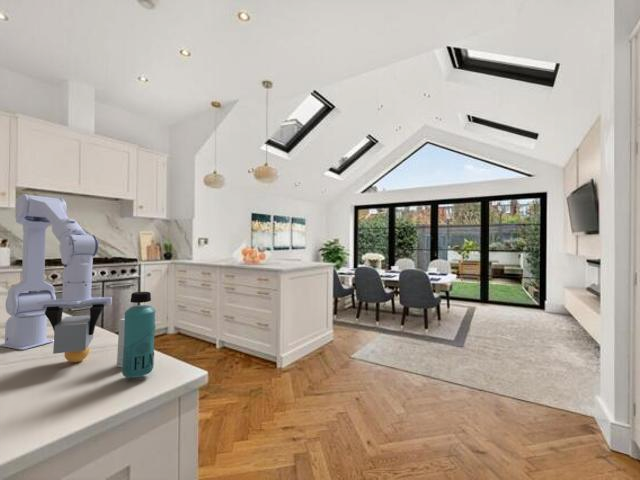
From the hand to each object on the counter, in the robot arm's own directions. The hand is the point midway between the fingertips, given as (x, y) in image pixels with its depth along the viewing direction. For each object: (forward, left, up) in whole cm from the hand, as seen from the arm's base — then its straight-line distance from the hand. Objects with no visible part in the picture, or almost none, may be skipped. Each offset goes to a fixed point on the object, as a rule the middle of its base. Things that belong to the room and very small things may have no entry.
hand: (75, 335), depth 76 cm
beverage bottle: (+21, 0, -8) cm, 22 cm away
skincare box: (+13, +6, -8) cm, 16 cm away
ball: (-1, +2, -5) cm, 5 cm away
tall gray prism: (0, 0, -2) cm, 2 cm away
